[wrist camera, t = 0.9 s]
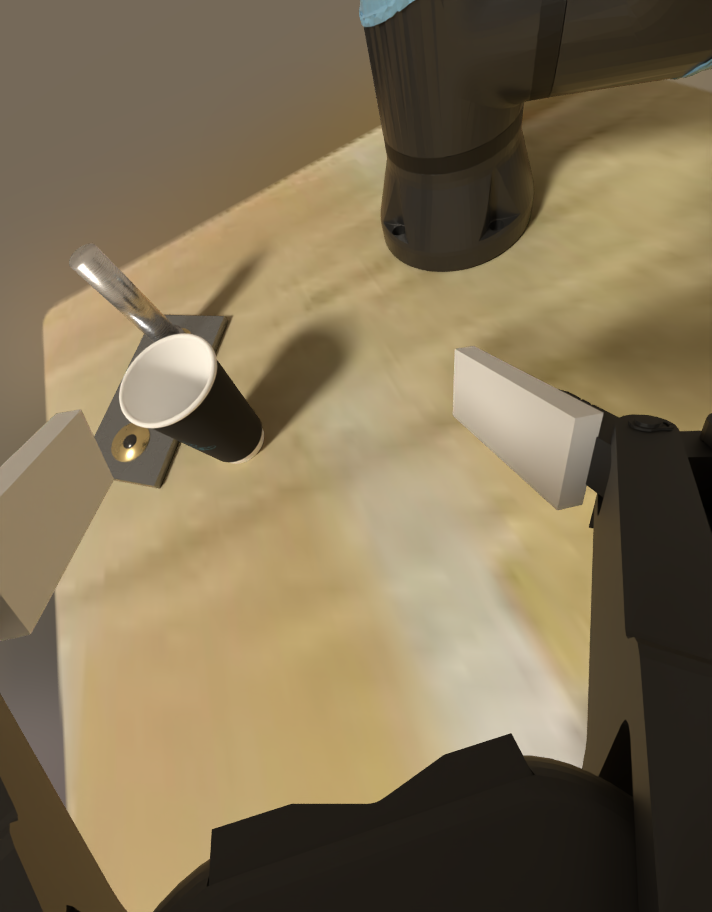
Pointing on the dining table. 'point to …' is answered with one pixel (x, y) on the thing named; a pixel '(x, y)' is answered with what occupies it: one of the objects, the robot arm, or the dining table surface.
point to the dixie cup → (190, 399)
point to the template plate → (145, 449)
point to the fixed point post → (121, 292)
